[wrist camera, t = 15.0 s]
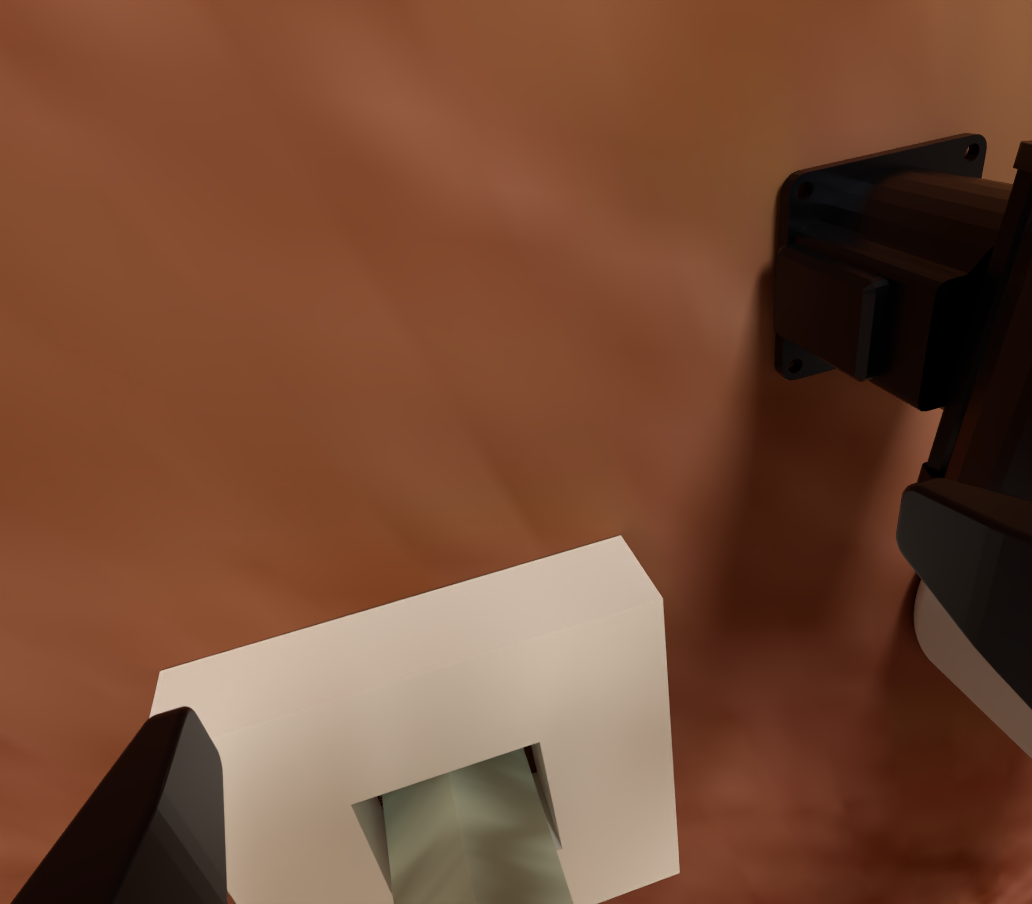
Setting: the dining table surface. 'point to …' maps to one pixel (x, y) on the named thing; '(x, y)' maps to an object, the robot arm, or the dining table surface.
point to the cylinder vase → (970, 669)
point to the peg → (473, 838)
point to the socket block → (447, 726)
